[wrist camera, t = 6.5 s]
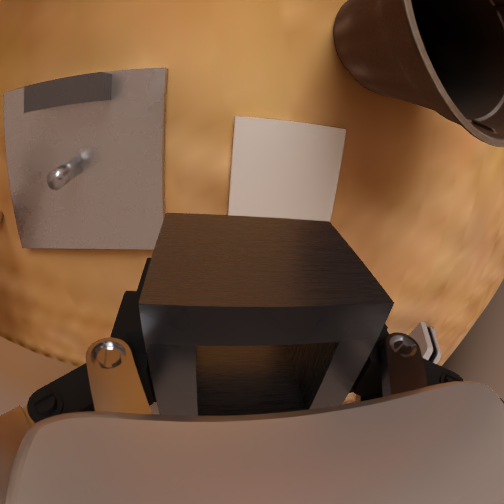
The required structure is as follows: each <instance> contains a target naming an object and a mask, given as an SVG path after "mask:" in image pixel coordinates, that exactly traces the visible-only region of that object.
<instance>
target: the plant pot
mask: <svg viewBox="0 0 504 504" xmlns="http://www.w3.org/2000/svg"><path fill="white" fill-rule="evenodd" d="M334 40H335V46H336V50H337V53H338V56H339V58H340V60H341V62H342V64H343V65H344V66H345V67H346V68H347V69H348V70H349V71H350V73H351V74H352V75H353V77H354V78H355V79H356V81H358V82H359V83H360V84H361V85H363V86H364V87H366V88H367V89H369V90H371V91H373V92H375V93H378V94H381V95H385V96H390V97H393V98H397V99H400V100H404V101H407V102H411V103H414V104H417V105H420V106H423V107H426V108H429V109H432V110H434V111H436V112H437V113H439V114H440V115H442V116H443V117H445V118H446V119H448V120H450V121H453V122H455V123H457V124H459V125H461V126H462V127H463V128H465V129H466V130H467V131H468V132H469V133H470V134H471V135H473V136H474V137H476V138H477V139H479V140H481V141H483V142H485V143H487V144H490V145H492V146H496V147H504V0H348V1H347V2H346V3H345V4H344V5H343V6H342V7H341V9H340V10H339V12H338V14H337V17H336V20H335V25H334Z"/></svg>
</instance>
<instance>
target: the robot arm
mask: <svg viewBox="0 0 504 504" xmlns="http://www.w3.org/2000/svg"><path fill="white" fill-rule="evenodd" d="M150 261H151V258H147V261H146V264H145V267H144V270H143V273H142V276H141V280H140V283H139V286H138V289H137V291H126V292H125V294H124V296H123V299H122V302H121V305H120V308H119V311H118V314H117V317H116V321H115V324H114V327H113V330H112V333H111V337H110V338H103V339H99V340H97V341H96V342H94V343H92V344H91V345H90V347H89V348H88V350H87V352H86V364H84V365H82V366H80V367H78V368H77V369H75V370H73V371H71V372H69V373H68V374H66V375H64V376H62V377H60V378H58V379H57V380H55V381H53V382H51V383H50V384H48V385H46V386H44V387H42V388H40V389H39V390H37V391H36V392H34V393H33V394H32V395H31V397H30V398H29V401H28V404H27V406H26V407H24V408H22V407H21V406H18V407H16V408H14V409H12V410H10V411H9V412H6V413H4V414H2V415H1V416H0V504H504V401H503V400H502V399H501V398H499V397H498V396H497V395H496V393H495V392H494V391H493V390H492V389H491V388H490V387H488V386H487V385H484V384H481V383H477V382H471V381H463V379H462V378H461V377H460V376H459V375H458V374H456V373H454V372H452V371H450V370H448V369H446V368H444V367H442V366H439V365H437V364H435V363H433V362H431V361H429V360H426V359H424V358H422V354H421V349H420V347H419V344H418V343H417V342H416V341H415V340H414V339H413V338H412V337H410V336H408V335H406V334H403V333H392V334H389V333H388V331H387V328H388V327H387V326H386V324H384V326H383V328H382V331H381V333H380V335H379V337H378V339H377V341H376V343H375V345H374V347H373V349H372V351H371V353H370V355H369V357H368V359H367V361H366V362H365V364H364V366H363V368H362V370H361V372H360V374H359V375H358V377H357V379H356V381H355V383H354V384H353V386H352V388H351V390H350V391H349V393H351V392H354V393H355V394H356V398H355V403H349V404H344V405H337V406H331V407H324V408H317V409H309V410H301V411H291V412H281V413H269V414H253V415H230V416H183V415H153V414H152V412H151V409H150V405H151V404H153V402H157V401H156V396H155V392H154V387H153V383H152V378H151V374H150V369H149V364H148V359H147V353H146V348H145V342H144V336H143V330H142V324H141V318H140V311H139V304H138V303H139V300H140V296H141V292H142V289H143V285H144V281H145V278H146V274H147V271H148V268H149V264H150Z"/></svg>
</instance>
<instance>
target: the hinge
mask: <svg viewBox="0 0 504 504" xmlns="http://www.w3.org/2000/svg"><path fill="white" fill-rule="evenodd" d="M436 334H437V332H436V330H435V329H434V327H431V326H430V327H428V328H427V326H426V323H425V322H420V323H419V324H418V325H417V326H416V328H415V329H414V330H413V331H412V332H411V334H410V335H409V336H410V337H412V338H413V339H414V340H415V341H416V342H417V343H418V344H419V347H420V349H421V354H422V358H424V359H426V360H429V361H431V362H433V363H435V364H437V363H438V362H439V360H440V358H441V351H440V348H439V345H438V342H437V338H436Z"/></svg>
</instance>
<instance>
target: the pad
mask: <svg viewBox="0 0 504 504" xmlns="http://www.w3.org/2000/svg"><path fill="white" fill-rule="evenodd" d="M345 135H346V129H343V128H337V127H331V126H324V125H317V124H310V123H303V122H295V121H286V120H277V119H267V118H255V117H241V116H235V119H234V131H233V144H232V158H231V172H230V187H229V203H228V215H233V216H253V217H271V218H287V219H302V220H317V221H329V222H330V220H331V215H332V210H333V205H334V200H335V194H336V189H337V184H338V178H339V172H340V166H341V160H342V154H343V148H344V142H345Z"/></svg>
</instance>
